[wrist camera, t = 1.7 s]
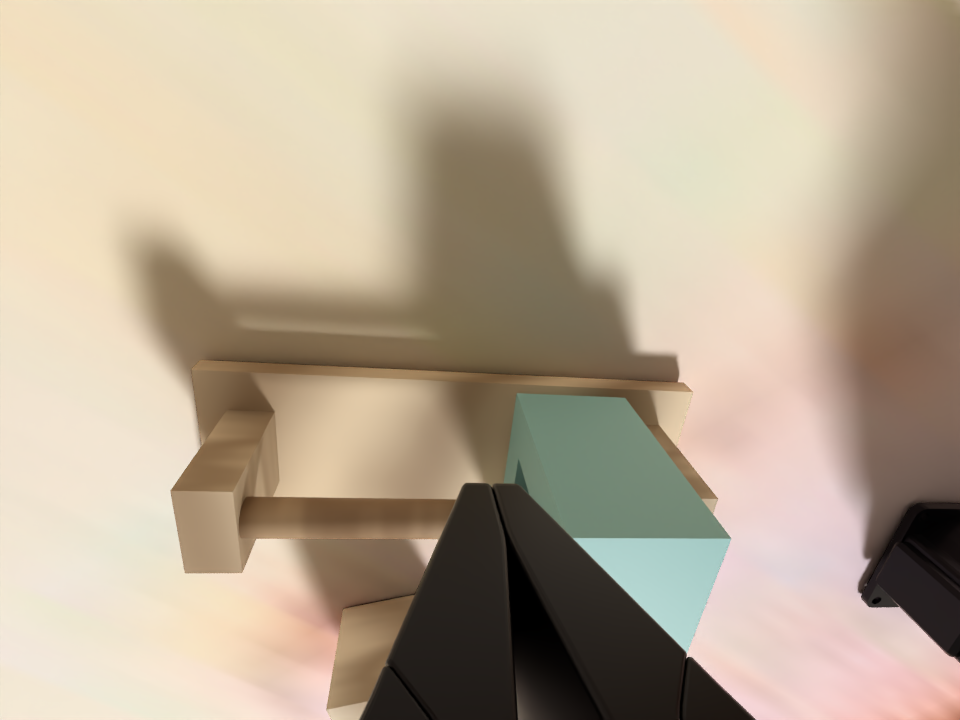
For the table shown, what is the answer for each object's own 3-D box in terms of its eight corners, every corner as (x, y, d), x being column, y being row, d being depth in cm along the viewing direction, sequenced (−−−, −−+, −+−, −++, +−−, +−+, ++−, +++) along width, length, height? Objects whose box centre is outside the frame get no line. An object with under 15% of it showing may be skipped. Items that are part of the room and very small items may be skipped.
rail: (683, 382, 20) (762, 459, 15) (648, 503, 23) (707, 602, 18) (200, 360, 18) (120, 443, 13) (218, 497, 20) (156, 609, 15)
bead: (625, 397, 18) (731, 538, 12) (593, 527, 21) (668, 701, 14) (516, 393, 18) (568, 538, 12) (497, 526, 20) (531, 706, 14)
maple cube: (439, 589, 24) (442, 685, 20) (456, 652, 26) (462, 752, 21) (343, 608, 24) (326, 710, 19) (367, 670, 25) (356, 774, 21)
